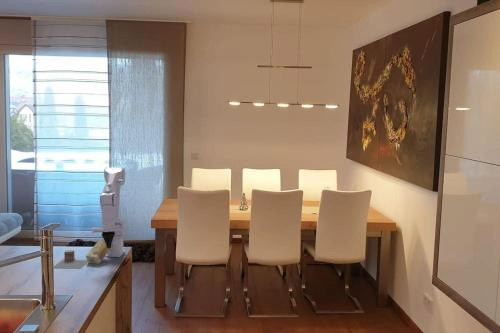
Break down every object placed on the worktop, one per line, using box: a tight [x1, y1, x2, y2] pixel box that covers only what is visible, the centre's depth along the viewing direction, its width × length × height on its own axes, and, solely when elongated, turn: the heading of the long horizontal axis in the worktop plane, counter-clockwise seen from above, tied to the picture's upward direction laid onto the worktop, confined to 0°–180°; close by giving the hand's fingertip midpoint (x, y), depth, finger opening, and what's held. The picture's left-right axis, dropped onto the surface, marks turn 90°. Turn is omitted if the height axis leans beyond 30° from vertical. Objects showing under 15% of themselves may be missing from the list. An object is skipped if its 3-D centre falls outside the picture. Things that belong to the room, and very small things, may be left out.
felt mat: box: [53, 259, 88, 270], centre depth 223 cm, size 12×13×1 cm
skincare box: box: [85, 238, 112, 265], centre depth 228 cm, size 6×4×12 cm
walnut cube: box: [63, 249, 75, 261], centre depth 230 cm, size 4×4×4 cm
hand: (109, 247), depth 221 cm, fingers closed
